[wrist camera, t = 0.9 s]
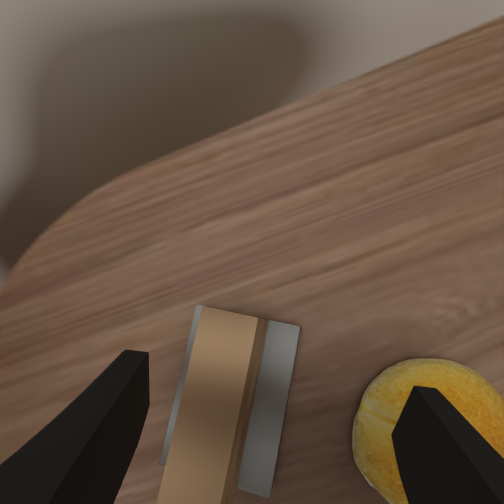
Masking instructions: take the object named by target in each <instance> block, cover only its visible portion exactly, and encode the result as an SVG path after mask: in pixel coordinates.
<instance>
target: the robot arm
mask: <svg viewBox="0 0 504 504" xmlns="http://www.w3.org/2000/svg"><path fill="white" fill-rule="evenodd" d="M149 405H150V401H149V352H142V351H134V350H125V351H123V352H122V353H121V354H120V355H119V356H118V357H117V358H116V359H115V360H114V361H113V362H112V363H111V364H110V365H109V366H108V367H107V368H106V369H105V370H104V371H103V372H102V373H101V374H100V375H99V376H98V377H97V378H96V379H95V380H94V381H93V382H92V383H91V384H90V385H89V386H88V387H87V388H86V389H85V390H84V391H83V392H82V393H81V394H80V395H79V396H78V397H77V398H76V399H75V400H74V401H73V402H72V403H70V404H69V405H68V406H67V407H66V408H65V409H64V410H63V411H62V412H61V413H60V414H59V415H58V416H57V417H56V418H54V419H53V420H52V421H51V422H50V423H49V424H48V425H46V426H45V427H44V428H43V429H42V430H41V431H40V432H38V433H37V434H36V435H35V436H34V437H33V438H32V439H30V440H29V441H28V442H27V443H26V444H25V445H23V446H22V447H21V448H20V449H19V450H18V451H16V452H15V453H14V454H13V455H12V456H10V457H9V458H8V459H7V460H5V461H4V462H3V463H2V464H1V465H0V504H113V503H114V501H115V499H116V496H117V494H118V491H119V489H120V487H121V484H122V482H123V479H124V477H125V475H126V472H127V470H128V467H129V465H130V462H131V460H132V458H133V455H134V453H135V450H136V448H137V445H138V442H139V439H140V436H141V432H142V429H143V426H144V423H145V419H146V416H147V412H148V409H149ZM391 437H392V442H393V447H394V452H395V457H396V462H397V466H398V471H399V475H400V478H401V482H402V485H403V488H404V491H405V494H406V497H407V500H408V503H409V504H504V458H503V457H502V456H501V455H500V454H499V453H498V452H497V451H496V450H495V449H494V448H493V447H492V446H491V445H490V444H489V443H488V442H487V441H486V440H485V439H484V437H483V436H482V435H481V434H480V433H479V432H478V431H477V430H476V429H475V428H474V427H473V426H472V425H471V424H470V423H469V422H468V421H467V419H466V418H465V417H464V416H463V415H462V414H461V413H460V412H459V411H458V410H457V409H456V408H455V407H454V406H453V405H452V404H451V403H450V402H449V401H448V400H447V398H446V397H445V396H444V395H443V394H442V393H441V392H440V391H439V390H438V389H437V388H431V387H423V386H415V385H414V386H413V388H412V390H411V392H410V395H409V397H408V399H407V401H406V403H405V406H404V408H403V410H402V412H401V414H400V416H399V419H398V421H397V423H396V425H395V427H394V429H393V432H392V434H391Z"/></svg>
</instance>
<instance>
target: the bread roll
mask: <svg viewBox="0 0 504 504" xmlns="http://www.w3.org/2000/svg"><path fill="white" fill-rule="evenodd" d="M414 385H415V386H423V387H431V388H437V389H438V390H439V391H440V392H441V393H442V394H443V395H444V396H445V397H446V398H447V400H448V401H449V402H450V403H451V404H452V405H453V406H454V407H455V408H456V409H457V410H458V411H459V412H460V413H461V414H462V415H463V416H464V417H465V418H466V419H467V421H468V422H469V423H470V424H471V425H472V426H473V427H474V428H475V429H476V430H477V431H478V432H479V433H480V434H481V435H482V436H483V437H484V439H485V440H486V441H487V442H488V443H489V444H490V445H491V446H492V447H493V448H494V449H495V450H496V451H497V452H498V453H499V454H500V455H501V456H502V457H503V458H504V399H503V397H502V396H501V395H500V394H499V393H498V392H497V391H496V389H495V388H494V387H493V386H492V385H491V384H490V383H489V382H488V381H487V380H486V379H485V378H483V377H482V376H481V375H480V374H479V373H477V372H475V371H474V370H472V369H470V368H469V367H467V366H464V365H462V364H460V363H457V362H454V361H451V360H446V359H435V358H428V359H427V358H417V359H408V360H405V361H402V362H399V363H397V364H395V365H392V366H390V367H388V368H387V369H385V370H384V371H382V372H381V373H380V374H379V375H378V376H377V377H376V378H375V379H373V380H372V381H371V383H370V384H369V386H368V387H367V388H366V390H365V392H364V394H363V396H362V399H361V403H360V407H359V409H358V411H357V414H356V416H355V418H354V422H353V428H352V449H353V457H354V460H355V464H356V465H357V467H358V469H359V470H360V472H361V474H362V475H363V476H364V477H365V479H366V480H367V482H368V484H369V485H370V486H372V487H373V488H375V489H376V490H377V491H378V492H379V493H380V494H381V495H382V496H383V497H384V499H386V501H387V502H388V503H389V504H409V503H408V500H407V497H406V494H405V491H404V488H403V485H402V482H401V478H400V475H399V471H398V466H397V462H396V457H395V452H394V447H393V442H392V437H391V434H392V432H393V429H394V427H395V425H396V423H397V421H398V419H399V416H400V414H401V412H402V410H403V408H404V406H405V403H406V401H407V399H408V397H409V395H410V392H411V390H412V388H413V386H414Z"/></svg>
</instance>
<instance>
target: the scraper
mask: <svg viewBox="0 0 504 504" xmlns="http://www.w3.org/2000/svg"><path fill="white" fill-rule="evenodd" d="M300 330H301V326H296V325H291V324H287V323H282V322H277V321H272V320H268V319H263V318H258V317H254V316H249V315H244V314H240V313H235V312H230V311H226V310H221V309H216V308H211V307H207V306H202V305H196V309H195V314H194V318H193V322H192V326H191V331H190V335H189V339H188V343H187V347H186V352H185V356H184V360H183V364H182V369H181V373H180V377H179V381H178V386H177V390H176V394H175V398H174V403H173V407H172V411H171V415H170V420H169V424H168V428H167V432H166V437H165V441H164V445H163V449H162V454H161V458H160V462H159V464H161V465H164V466H165V469H164V473H163V478H162V482H161V486H160V490H159V495H158V499H157V503H156V504H229V503H230V501H231V499H232V497H233V495H234V492H235V490H236V489H239V490H242V491H246V492H249V493H252V494H255V495H258V496H261V497H264V498H268V499H269V498H270V494H271V489H272V485H273V480H274V474H275V468H276V463H277V457H278V452H279V446H280V441H281V435H282V430H283V424H284V418H285V413H286V407H287V402H288V396H289V391H290V385H291V380H292V374H293V368H294V363H295V357H296V352H297V346H298V341H299V335H300Z"/></svg>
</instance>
